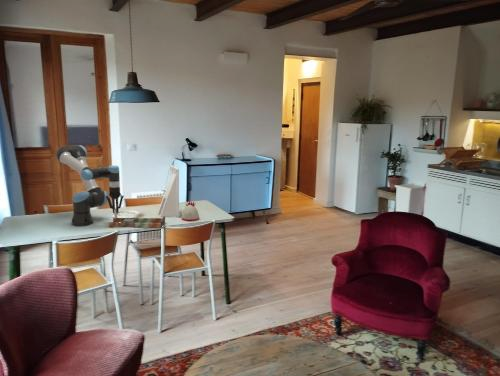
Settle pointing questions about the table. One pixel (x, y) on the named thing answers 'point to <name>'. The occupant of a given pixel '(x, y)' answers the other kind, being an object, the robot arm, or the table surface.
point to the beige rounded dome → (190, 212)
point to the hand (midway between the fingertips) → (115, 217)
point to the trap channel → (139, 222)
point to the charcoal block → (128, 221)
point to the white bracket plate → (171, 196)
